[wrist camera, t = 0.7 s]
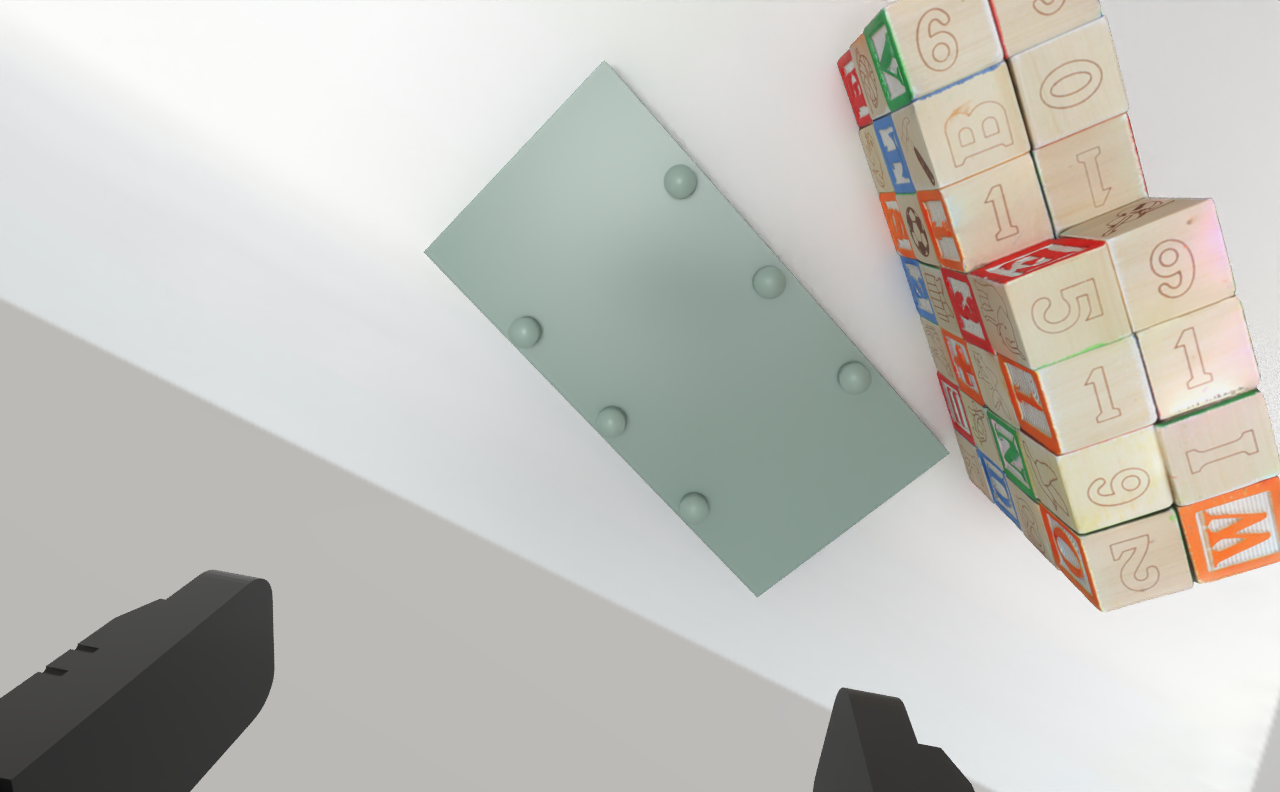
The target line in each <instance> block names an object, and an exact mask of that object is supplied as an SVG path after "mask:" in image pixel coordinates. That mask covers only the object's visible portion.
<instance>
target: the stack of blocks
mask: <svg viewBox="0 0 1280 792" xmlns="http://www.w3.org/2000/svg"><path fill="white" fill-rule="evenodd" d="M837 64H838V68H839V70H840V73H841V76H842V79H843V82H844V85H845V88H846V91H847V94H848V97H849V100H850V102H851V105H852V108H853V112H854V114H855V117H856V120H857V124H858V125H859V127H860V130H859V136H860V139H861V142H862V145H863V148H864V152H865V155H866V158H867V161H868V164H869V167H870V170H871V173H872V176H873V179H874V182H875V185H876V188H877V190H878V192H879V198H880V201H881V204H882V208H883V211H884V214H885V217H886V220H887V223H888V226H889V229H890V232H891V236H892V239H893V242H894V245H895V248H896V251H897V253H898V254H899V255H900V256H901V261H902V264H903V267H904V270H905V273H906V276H907V279H908V282H909V286H910V289H911V292H912V295H913V298H914V301H915V304H916V308H917V310H918V312H919V314H920V317H921V321H922V324H923V328H924V331H925V334H926V337H927V340H928V343H929V346H930V349H931V352H932V355H933V358H934V361H935V364H936V367H937V376H938V379H939V382H940V386H941V389H942V392H943V395H944V398H945V401H946V404H947V407H948V410H949V414H950V417H951V420H952V423H953V426H954V429H955V434H956V437H957V440H958V444H959V447H960V450H961V453H962V456H963V459H964V462H965V466H966V469H967V472H968V475H969V478H970V479H971V481H972V482H973V483H974V484H975V485H976V486H977V487H978V488H979V489H980V490H981V491H982V492H983V493H984V494H985V495H986V496H987V497H988V498H989V499H990V500H991V501H992V502H993V503H995V504H996V505H997V506H998V507H999V508H1000V509H1001V510H1002V511H1003V512H1004V513H1005V514H1006V515H1007V516H1008V517H1009V518H1010V519H1011V520H1012V521H1013V522H1014V523H1015V524H1016V526H1017V527H1018V528H1019V529H1020V530H1021V531H1022V532H1023V533H1024V535H1025V536H1026V538H1027V539H1028V540H1029V541H1030V542H1031V543H1032V544H1033V545H1034V546H1035V547H1036V548H1037V549H1038V550H1039V551H1040V552H1041V553H1042V554H1043V555H1044V557H1045V558H1046V559H1048V560H1049V561H1050V562H1051V563H1052V564H1053V565H1054V566H1055V567H1056V568H1057V569H1058V570H1061V571H1062V572H1063V573H1064V575H1065V576H1066V577H1067V578H1068V579H1069V580H1070V581H1071V582H1072V583H1073V584H1074V585H1075V586H1076V587H1077V588H1078V589H1079V590H1080V591H1081V592H1082V593H1083V594H1084V595H1085V597H1086V598H1087V599H1088V600H1089V601H1090V602H1091V603H1092V604H1093V605H1094V606H1095V607H1096V608H1097V609H1099V610H1100V611H1101V612H1108V611H1111V610H1115V609H1118V608H1121V607H1125V606H1128V605H1132V604H1135V603H1139V602H1143V601H1146V600H1150V599H1153V598H1157V597H1160V596H1164V595H1168V594H1172V593H1176V592H1180V591H1184V590H1188V589H1190V588H1192V587H1193V582H1194V581H1195V582H1197V583H1199V584H1200V583H1207V582H1213V581H1217V580H1220V579H1223V578H1226V577H1229V576H1233V575H1236V574H1240V573H1243V572H1246V571H1250V570H1253V569H1256V568H1260V567H1263V566H1266V565H1269V564H1273V563H1276V562H1279V561H1280V479H1279V477H1278V476H1277V475H1279V474H1280V459H1279V454H1278V449H1277V445H1276V442H1275V439H1274V435H1273V430H1272V426H1271V422H1270V418H1269V414H1268V410H1267V407H1266V403H1265V400H1264V396H1263V394H1262V393H1261V392H1260V391H1259V390H1258V389H1257V388H1256V387H1257V385H1258V384H1259V381H1260V378H1261V377H1260V374H1259V370H1258V364H1257V361H1256V358H1255V354H1254V351H1253V346H1252V341H1251V338H1250V335H1249V331H1248V327H1247V323H1246V319H1245V315H1244V311H1243V307H1242V304H1241V302H1240V300H1239V299H1238V297H1237V296H1236V295H1235V290H1236V286H1235V281H1234V278H1233V274H1232V270H1231V266H1230V262H1229V258H1228V254H1227V250H1226V246H1225V242H1224V238H1223V234H1222V230H1221V227H1220V223H1219V220H1218V216H1217V212H1216V208H1215V203H1214V201H1213V200H1212V198H1152V197H1149V196H1148V191H1147V187H1146V183H1145V179H1144V175H1143V171H1142V167H1141V164H1140V160H1139V156H1138V152H1137V148H1136V144H1135V140H1134V136H1133V132H1132V128H1131V124H1130V120H1129V117H1128V114H1127V111H1128V109H1129V104H1128V100H1127V96H1126V92H1125V88H1124V84H1123V79H1122V75H1121V71H1120V67H1119V63H1118V59H1117V55H1116V51H1115V47H1114V43H1113V39H1112V35H1111V32H1110V28H1109V24H1108V20H1107V17H1106V16H1104V15H1102V14H1101V6H1100V1H1099V0H898V1H896V2H894V3H892V4H890V5H888V6H886V7H884V8H883V9H882V10H881V11H880V12H879V13H878V14H877V15H876V16H875V17H874V19H873V20H872V21H871V22H870V23H869V24H868V25H867V26H866V27H865V28H864V33H863V34H862V35H860V36H859V38H858V39H857V40H856V41H855V42H854V43H853V44H852V45H851V46H850V49H849V50H848V51H847V52H846V53H845V54H844V55H843V56H842V57H841V58H840V59H839V60H838V62H837Z"/></svg>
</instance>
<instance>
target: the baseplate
mask: <svg viewBox="0 0 1280 792" xmlns="http://www.w3.org/2000/svg"><path fill="white" fill-rule="evenodd" d="M424 253H425V254H426V255H427V256H428V257H429V258H430V259H431V260H432V261H433V262H434V263H435V264H436V265H437V266H438V267H439V268H440V269H441V271H442V272H443V273H444V274H445V275H446V276H447V277H448V278H449V279H450V280H451V281H452V282H453V283H454V284H455V285H456V286H457V287H458V288H459V289H460V290H461V291H462V292H463V293H464V294H465V295H466V296H467V297H468V298H469V300H470V301H471V302H472V303H473V304H474V305H475V306H476V307H477V308H478V309H479V310H480V311H481V312H482V313H483V314H484V315H485V316H486V317H487V318H488V319H489V320H490V321H491V322H492V323H493V324H494V325H495V326H496V327H497V328H498V330H499V331H500V332H501V333H502V334H503V335H504V336H505V337H506V338H507V339H508V340H509V341H510V342H511V343H512V344H513V345H514V346H515V347H516V348H517V349H518V350H519V351H520V352H521V353H522V354H523V355H524V356H525V357H526V359H527V360H528V361H529V362H530V363H531V364H532V365H533V366H534V367H535V368H536V369H537V370H538V371H539V372H540V373H541V374H542V375H543V376H544V377H545V378H546V379H547V380H548V381H549V382H550V383H551V384H552V385H553V386H554V387H555V389H556V390H557V391H558V392H559V393H560V394H561V395H562V396H563V397H564V398H565V399H566V400H567V401H568V402H569V403H570V404H571V405H572V406H573V407H574V408H575V409H576V410H577V411H578V412H579V413H580V414H581V415H582V416H583V418H584V419H585V420H586V421H587V422H588V423H589V424H590V425H591V426H592V427H593V428H594V429H595V430H596V431H597V432H598V433H599V434H600V435H601V436H602V437H603V438H604V439H605V440H606V441H607V442H608V443H609V444H610V445H611V447H612V448H613V449H614V450H615V451H616V452H617V453H618V454H619V455H620V456H621V457H622V458H623V459H624V460H625V461H626V462H627V463H628V464H629V465H630V466H631V467H632V468H633V469H634V470H635V471H636V472H637V473H638V474H639V475H640V477H641V478H642V479H643V480H644V481H645V482H646V483H647V484H648V485H649V486H650V487H651V488H652V489H653V490H654V491H655V492H656V493H657V494H658V495H659V496H660V497H661V498H662V499H663V500H664V501H665V502H666V503H667V504H668V506H669V507H670V508H671V509H672V510H673V511H674V512H675V513H676V514H677V515H678V516H679V517H680V518H681V519H682V520H683V521H684V522H685V523H686V524H687V525H688V526H689V527H690V528H691V529H692V530H693V531H694V532H695V533H696V534H697V536H698V537H699V538H700V539H701V540H702V541H703V542H704V543H705V544H706V545H707V546H708V547H709V548H710V549H711V550H712V551H713V552H714V553H715V554H716V555H717V556H718V557H719V558H720V559H721V560H722V561H723V562H724V563H725V565H726V566H727V567H728V568H729V569H730V570H731V571H732V572H733V573H734V574H735V575H736V576H737V577H738V578H739V579H740V580H741V581H742V582H743V583H744V584H745V585H746V586H747V587H748V588H749V589H750V590H751V591H752V592H753V593H754V595H755V596H756V597H758V596H760V595H761V594H762V593H764V592H765V591H766V590H768V589H769V588H770V587H772V586H773V585H774V584H776V583H777V582H778V581H780V580H781V579H782V578H784V577H785V576H786V575H788V574H789V573H791V572H792V571H793V570H795V569H796V568H797V567H799V566H800V565H801V564H803V563H804V562H805V561H807V560H808V559H809V558H811V557H812V556H813V555H815V554H816V553H817V552H819V551H820V550H821V549H823V548H824V547H825V546H827V545H828V544H829V543H831V542H832V541H833V540H835V539H836V538H837V537H839V536H840V535H841V534H843V533H844V532H845V531H847V530H848V529H849V528H851V527H852V526H853V525H855V524H856V523H857V522H859V521H860V520H861V519H863V518H864V517H865V516H867V515H868V514H869V513H871V512H872V511H873V510H875V509H876V508H877V507H879V506H880V505H881V504H883V503H884V502H885V501H887V500H888V499H889V498H891V497H892V496H893V495H895V494H896V493H897V492H899V491H900V490H901V489H903V488H904V487H905V486H907V485H908V484H909V483H911V482H912V481H913V480H915V479H916V478H917V477H919V476H920V475H921V474H923V473H924V472H925V471H927V470H928V469H929V468H931V467H932V466H933V465H935V464H936V463H937V462H939V461H940V460H941V459H943V458H944V457H945V456H947V455H948V454H949V452H948V451H947V449H946V448H945V447H944V446H943V445H942V444H941V443H940V441H939V440H938V439H937V438H936V437H935V436H934V435H933V434H932V432H931V431H930V430H929V429H928V428H927V427H926V426H925V424H924V423H923V422H922V421H921V420H920V419H919V418H918V416H917V415H916V414H915V413H914V412H913V411H912V410H911V409H910V407H909V406H908V405H907V404H906V403H905V402H904V401H903V399H902V398H901V397H900V396H899V395H898V394H897V393H896V391H895V390H894V389H893V388H892V387H891V386H890V385H889V383H888V382H887V381H886V380H885V379H884V378H883V377H882V376H881V374H880V373H879V372H878V371H877V370H876V369H875V368H874V366H873V365H872V364H871V363H870V362H869V361H868V360H867V358H866V357H865V356H864V355H863V354H862V353H861V352H860V350H859V349H858V348H857V347H856V346H855V345H854V344H853V343H852V341H851V340H850V339H849V338H848V337H847V336H846V335H845V333H844V332H843V331H842V330H841V329H840V328H839V327H838V325H837V324H836V323H835V322H834V321H833V320H832V319H831V317H830V316H829V315H828V314H827V313H826V312H825V311H824V310H823V308H822V307H821V306H820V305H819V304H818V303H817V302H816V300H815V299H814V298H813V297H812V296H811V295H810V294H809V292H808V291H807V290H806V289H805V288H804V287H803V286H802V285H801V283H800V282H799V281H798V280H797V279H796V278H795V277H794V275H793V274H792V273H791V272H790V271H789V270H788V269H787V267H786V266H785V265H784V264H783V263H782V262H781V261H780V259H779V258H778V257H777V256H776V255H775V254H774V253H773V252H772V250H771V249H770V248H769V247H768V246H767V245H766V244H765V242H764V241H763V240H762V239H761V238H760V237H759V236H758V234H757V233H756V232H755V231H754V230H753V229H752V228H751V226H750V225H749V224H748V223H747V222H746V221H745V220H744V219H743V217H742V216H741V215H740V214H739V213H738V212H737V211H736V209H735V208H734V207H733V206H732V205H731V204H730V203H729V201H728V200H727V199H726V198H725V197H724V196H723V195H722V194H721V192H720V191H719V190H718V189H717V188H716V187H715V186H714V184H713V183H712V182H711V181H710V180H709V179H708V178H707V176H706V175H705V174H704V173H703V172H702V171H701V170H700V168H699V167H698V166H697V165H696V164H695V163H694V162H693V161H692V159H691V158H690V157H689V156H688V155H687V154H686V153H685V151H684V150H683V149H682V148H681V147H680V146H679V145H678V143H677V142H676V141H675V140H674V139H673V138H672V137H671V135H670V134H669V133H668V132H667V131H666V130H665V129H664V128H663V126H662V125H661V124H660V123H659V122H658V121H657V120H656V118H655V117H654V116H653V115H652V114H651V113H650V112H649V110H648V109H647V108H646V107H645V106H644V105H643V104H642V103H641V101H640V100H639V99H638V98H637V97H636V96H635V95H634V93H633V92H632V91H631V90H630V89H629V88H628V87H627V85H626V84H625V83H624V82H623V81H622V80H621V79H620V77H619V76H618V75H617V74H616V73H615V72H614V71H613V70H612V68H611V67H610V66H609V65H608V64H607V63H606V62H605V60H604V61H603V62H602V63H601V64H600V65H599V66H598V67H597V68H596V69H595V71H594V72H593V73H592V74H591V75H590V76H589V77H588V78H587V79H586V80H585V81H584V82H583V83H582V84H581V85H580V86H579V88H578V89H577V90H576V91H575V92H574V93H573V94H572V95H571V96H570V97H569V98H568V99H567V100H566V101H565V102H564V104H563V105H562V106H561V107H560V108H559V109H558V110H557V111H556V112H555V113H554V114H553V115H552V116H551V117H550V118H549V119H548V121H547V122H546V123H545V124H544V125H543V126H542V127H541V128H540V129H539V130H538V131H537V132H536V133H535V134H534V135H533V137H532V138H531V139H530V140H529V141H528V142H527V143H526V144H525V145H524V146H523V147H522V148H521V149H520V150H519V151H518V152H517V154H516V155H515V156H514V157H513V158H512V159H511V160H510V161H509V162H508V163H507V164H506V165H505V166H504V167H503V168H502V170H501V171H500V172H499V173H498V174H497V175H496V176H495V177H494V178H493V179H492V180H491V181H490V182H489V183H488V184H487V185H486V187H485V188H484V189H483V190H482V191H481V192H480V193H479V194H478V195H477V196H476V197H475V198H474V199H473V200H472V201H471V203H470V204H469V205H468V206H467V207H466V208H465V209H464V210H463V211H462V212H461V213H460V214H459V215H458V216H457V217H456V218H455V220H454V221H453V222H452V223H451V224H450V225H449V226H448V227H447V228H446V229H445V230H444V231H443V232H442V233H441V234H440V236H439V237H438V238H437V239H436V240H435V241H434V242H433V243H432V244H431V245H430V246H429V247H428V248H427V249H426V250H425V251H424Z"/></svg>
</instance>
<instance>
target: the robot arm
mask: <svg viewBox="0 0 1280 792" xmlns="http://www.w3.org/2000/svg"><path fill="white" fill-rule="evenodd" d="M273 638H274V637H273V600H272V589H271V586H270V584H269V583H268V582H267V580H265V579H261V578H255V577H250V576H244V575H239V574H234V573H228V572H223V571H218V570H209V571H206V572H204V573H202V574H201V575H199V576H198V577H196V578H195V579H194V580H192V581H191V582H189V583H188V584H187V585H185V586H184V587H183V588H181V589H180V590H179V591H177V592H176V593H174V594H173V595H172V596H170V597H169V598H168V599H166V600H163V599H159V600H156V601H154V602H151V603H149V604H147V605H144V606H142V607H140V608H137V609H135V610H133V611H130V612H128V613H126V614H123V615H121V616H119V617H116V618H114V619H113V620H111V621H110V622H109V623H107V624H106V625H104V626H103V627H102V628H100V629H99V630H97V631H96V632H94V633H93V634H91V635H90V636H89V637H87V638H86V639H84V640H83V641H81V642H80V643H79V644H78V646H77V648H76V649H75V650H71V649H70V650H69V651H67V652H66V653H64V654H63V655H62V656H60V657H59V658H57V659H56V660H54V661H53V662H51V663H50V664H49V665H47V666H46V669H45V671H44V672H43V673H41V672H37V673H36V674H34V675H33V676H31V677H30V678H29V679H27V680H26V681H24V682H23V683H22V684H20V685H19V686H17V687H16V688H14V689H13V690H12V691H10V692H9V693H7V694H6V695H4V696H3V697H2V698H0V792H190V791H191V790H192V789H193V788H194V786H195V785H196V784H197V783H198V782H199V781H200V780H201V779H202V777H203V776H204V775H205V774H206V773H207V772H208V771H209V769H210V768H211V767H212V766H213V765H214V764H215V763H216V762H217V761H218V759H219V758H220V757H221V756H222V755H223V754H224V753H225V752H226V750H227V749H228V748H229V747H230V746H231V745H232V744H233V743H234V741H235V740H236V739H237V738H238V737H239V736H240V735H241V733H242V732H243V731H244V730H245V729H246V728H247V727H248V725H250V723H251V722H252V721H253V720H254V719H255V717H256V716H257V715H258V713H259V712H260V710H261V709H262V707H263V705H264V704H265V701H266V699H267V697H268V695H269V692H270V689H271V686H272V682H273V677H274V639H273ZM813 792H975V791H974V789H973V787H972V784H971V783H970V782H969V781H968V780H967V778H966V777H965V776H964V775H963V774H962V772H961V771H960V770H959V769H958V768H957V767H956V765H955V764H954V763H953V762H952V761H951V759H950V758H949V757H948V756H947V755H946V754H945V752H944V751H943V750H942V749H941V748H938V747H933V746H928V745H923V744H918V742H917V739H916V736H915V734H914V731H913V728H912V725H911V722H910V720H909V717H908V714H907V711H906V709H905V706H904V704H903V702H902V701H901V699H899V698H897V697H891V696H886V695H880V694H875V693H870V692H864V691H859V690H853V689H848V688H841V689H840V690H839V692H838V694H837V696H836V699H835V702H834V706H833V710H832V714H831V718H830V722H829V726H828V729H827V733H826V737H825V741H824V745H823V749H822V753H821V757H820V760H819V764H818V768H817V772H816V776H815V781H814V788H813Z"/></svg>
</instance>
